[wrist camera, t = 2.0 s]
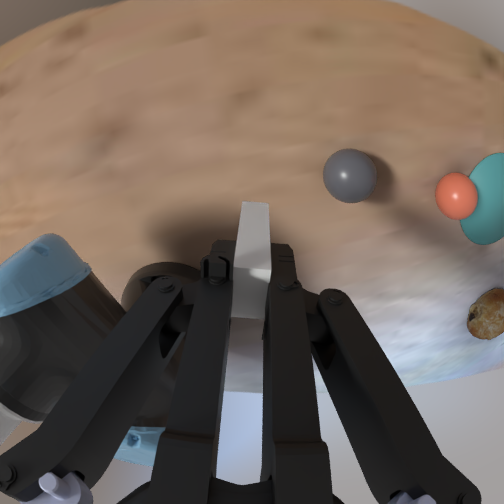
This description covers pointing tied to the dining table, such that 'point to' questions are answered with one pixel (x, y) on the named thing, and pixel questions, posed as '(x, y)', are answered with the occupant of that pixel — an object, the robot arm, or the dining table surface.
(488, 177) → the teal mark
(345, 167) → the gray ball
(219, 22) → the dining table surface
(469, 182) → the red ball
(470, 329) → the bread roll
